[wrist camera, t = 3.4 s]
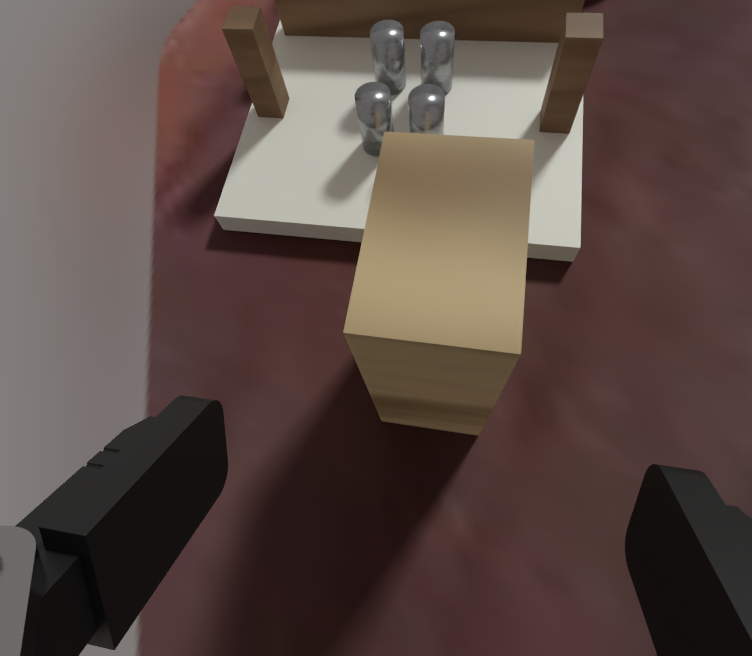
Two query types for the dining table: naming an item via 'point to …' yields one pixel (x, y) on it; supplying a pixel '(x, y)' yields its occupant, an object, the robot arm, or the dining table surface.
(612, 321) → the dining table surface
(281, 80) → the walnut frame
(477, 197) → the oak block
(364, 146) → the pegs
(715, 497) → the robot arm
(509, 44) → the peg stand
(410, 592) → the dining table surface
